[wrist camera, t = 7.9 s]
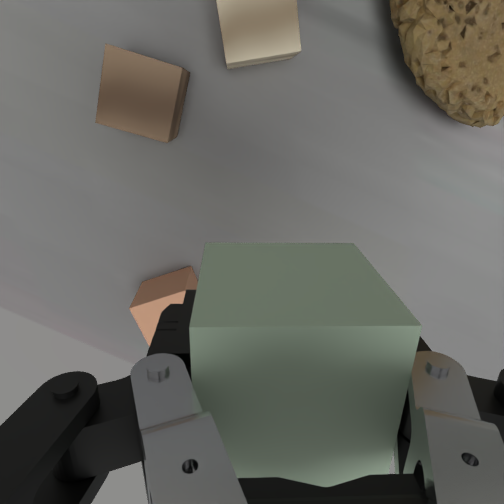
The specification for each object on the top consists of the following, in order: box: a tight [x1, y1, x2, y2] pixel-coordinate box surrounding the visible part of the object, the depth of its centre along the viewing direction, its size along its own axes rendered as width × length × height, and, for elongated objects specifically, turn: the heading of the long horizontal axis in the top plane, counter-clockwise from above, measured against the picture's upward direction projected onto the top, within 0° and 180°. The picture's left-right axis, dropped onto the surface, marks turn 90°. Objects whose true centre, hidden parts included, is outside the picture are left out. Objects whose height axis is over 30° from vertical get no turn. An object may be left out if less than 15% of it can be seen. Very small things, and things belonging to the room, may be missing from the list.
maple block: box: [216, 0, 301, 69], centre depth 26 cm, size 5×5×5 cm
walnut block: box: [95, 44, 190, 143], centre depth 28 cm, size 5×5×5 cm
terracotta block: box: [129, 266, 198, 346], centre depth 34 cm, size 5×5×5 cm
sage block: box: [189, 243, 422, 487], centre depth 11 cm, size 5×5×5 cm
